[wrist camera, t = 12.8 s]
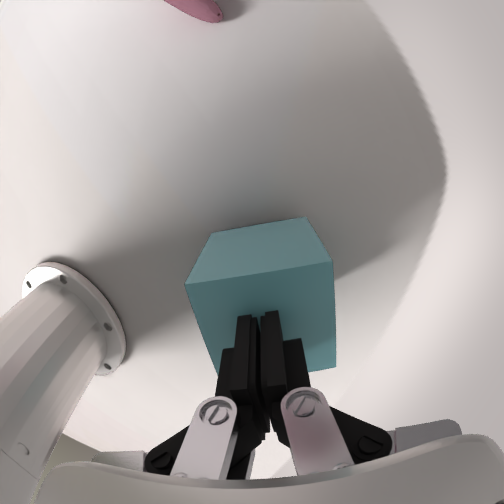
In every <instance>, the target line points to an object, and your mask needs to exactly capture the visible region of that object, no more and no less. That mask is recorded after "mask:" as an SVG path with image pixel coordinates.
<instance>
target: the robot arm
mask: <svg viewBox="0 0 504 504" xmlns="http://www.w3.org/2000/svg"><path fill="white" fill-rule="evenodd" d="M22 297H23V298H22V299H21V300H20V301H19V302H18V303H17V304H16V305H14V306H13V307H12V308H11V309H10V310H9V311H8V312H7V313H5V314H4V315H3V316H2V317H1V318H0V504H30V501H31V499H32V496H33V494H34V491H35V489H36V486H37V484H38V482H39V479H40V477H41V475H42V473H43V470H44V468H45V466H46V464H47V462H48V460H49V458H50V455H51V453H52V451H53V449H54V447H55V445H56V443H57V441H58V439H59V437H60V435H61V434H62V432H63V430H64V428H65V426H66V424H67V422H68V420H69V418H70V417H71V415H72V413H73V411H74V409H75V407H76V406H77V404H78V402H79V400H80V399H81V397H82V395H83V393H84V392H85V390H86V388H87V386H88V385H89V383H90V381H91V380H92V378H93V376H94V375H106V374H109V373H112V372H113V371H115V370H116V369H117V368H118V367H119V365H120V363H121V362H122V360H123V358H124V355H125V351H126V341H125V334H124V331H123V328H122V326H121V323H120V321H119V319H118V317H117V315H116V313H115V311H114V310H113V308H112V307H111V305H110V304H109V302H108V301H107V299H106V298H105V297H104V296H103V295H102V293H101V292H100V291H99V290H98V289H97V288H96V287H95V286H94V285H93V284H92V283H91V282H90V281H89V280H88V279H87V278H85V277H84V276H83V275H81V274H80V273H79V272H77V271H76V270H74V269H72V268H70V267H68V266H66V265H63V264H60V263H57V262H45V263H41V264H39V265H37V266H36V267H34V268H33V269H32V270H31V271H30V272H28V273H27V275H26V277H25V279H24V283H23V287H22ZM270 420H271V424H272V427H273V430H274V432H276V433H277V436H278V440H279V442H281V443H282V444H284V445H286V446H287V447H289V448H290V451H291V455H292V458H293V462H294V465H295V469H296V472H297V476H291V477H282V478H270V479H253V480H250V475H251V471H252V466H253V461H254V457H255V448H256V447H257V446H258V445H260V444H261V443H262V440H265V433H269V432H270ZM34 504H504V453H503V452H502V450H501V449H500V447H499V446H498V445H497V444H496V443H495V442H494V441H493V440H492V439H491V438H489V437H487V436H484V435H479V434H467V435H462V432H461V429H460V426H459V424H457V423H456V422H455V421H453V420H450V419H446V420H439V421H435V422H430V423H424V424H419V425H413V426H406V427H399V428H395V430H393V431H385V430H383V429H381V428H378V427H376V426H374V425H371V424H369V423H366V422H364V421H362V420H359V419H357V418H355V417H352V416H350V415H348V414H346V413H343V412H341V411H339V410H337V409H335V408H333V407H331V406H329V405H328V402H327V400H326V398H325V396H324V395H323V393H322V392H320V391H319V390H318V389H315V388H312V387H311V386H310V380H309V375H308V369H307V364H306V359H305V354H304V349H303V344H302V339H301V338H297V339H291V340H285V341H284V340H283V334H282V329H281V323H280V317H279V311H278V310H275V311H269V312H265V316H260V329H259V324H258V320H257V317H252V315H251V314H249V315H242V316H238V317H237V325H236V334H235V343H234V347H233V348H224V349H223V350H222V355H221V361H220V368H219V374H218V380H217V387H216V393H215V397H211V398H208V399H206V400H204V401H203V402H202V403H201V404H199V405H198V407H197V409H196V411H195V413H194V416H193V418H192V421H191V423H190V425H189V426H187V427H186V428H184V429H183V430H181V431H180V432H178V433H177V434H175V435H174V436H172V437H171V438H169V439H168V440H166V441H165V442H163V443H161V444H160V445H158V446H157V447H155V448H153V449H152V450H151V451H150V452H146V453H145V452H144V451H123V452H100V453H98V454H96V455H95V456H94V457H93V458H92V461H91V462H84V461H80V462H67V463H63V464H60V465H57V466H55V467H54V468H53V469H51V471H50V472H49V473H48V474H47V476H46V478H45V479H44V481H43V483H42V485H41V487H40V489H39V492H38V494H37V496H36V499H35V502H34Z"/></svg>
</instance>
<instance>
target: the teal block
mask: <svg viewBox="0 0 504 504" xmlns="http://www.w3.org/2000/svg"><path fill="white" fill-rule="evenodd" d="M184 285H185V288H186V291H187V294H188V297H189V300H190V303H191V306H192V309H193V311H194V314H195V317H196V320H197V323H198V325H199V328H200V331H201V334H202V336H203V339H204V342H205V344H206V347H207V349H208V352H209V354H210V357H211V360H212V362H213V365H214V367H215V370H216V372H217V374H219V368H220V361H221V355H222V350H223V349H224V348H233V347H234V343H235V334H236V325H237V317H238V316H242V315H249V314H251V315H252V317H257V320H258V324H259V329H260V316H265V312H269V311H275V310H278V311H279V317H280V323H281V329H282V334H283V340H284V341H285V340H291V339H297V338H301V339H302V344H303V349H304V354H305V359H306V364H307V369H308V372H313V371H319V370H324V369H329V368H334V367H336V317H335V293H334V276H333V261H332V259H331V257H330V256H329V254H328V252H327V251H326V249H325V247H324V246H323V244H322V242H321V241H320V239H319V237H318V236H317V234H316V232H315V231H314V229H313V227H312V226H311V224H310V222H309V221H308V219H307V218H306V217H301V218H295V219H288V220H282V221H276V222H271V223H265V224H259V225H253V226H248V227H242V228H236V229H231V230H225V231H220V232H214V233H211V235H210V237H209V239H208V241H207V243H206V244H205V246H204V248H203V250H202V252H201V254H200V256H199V257H198V259H197V261H196V263H195V265H194V267H193V269H192V271H191V273H190V275H189V276H188V278H187V280H186V282H185V284H184Z"/></svg>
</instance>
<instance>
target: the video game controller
mask: <svg viewBox="0 0 504 504" xmlns="http://www.w3.org/2000/svg"><path fill="white" fill-rule="evenodd" d="M164 1H165V2H167V3H168V4H170V5H172V6H174V7H176V8H178V9H179V10H181V11H183V12H185V13H187V14H189V15H191V16H193V17H195V18H198V19H200V20H203V21H206V22H210V23H215V22H219V21H221V20H222V18H223V14H222V12H221V10H220V8H219V7H218V5H217V4H216V3H215V2H214V1H212V0H164Z"/></svg>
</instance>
